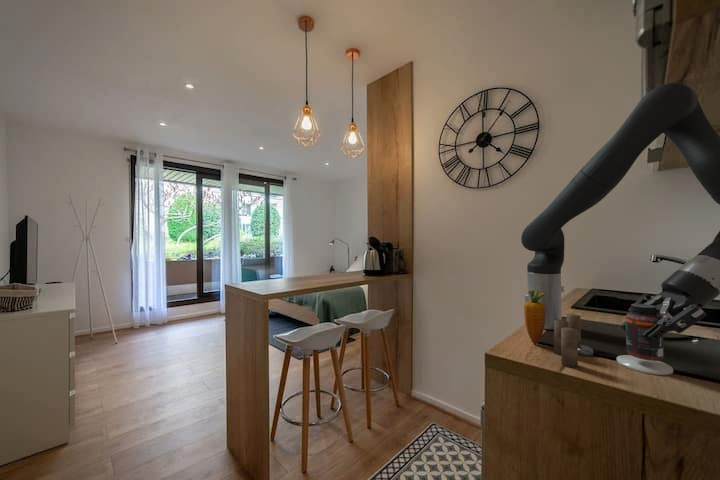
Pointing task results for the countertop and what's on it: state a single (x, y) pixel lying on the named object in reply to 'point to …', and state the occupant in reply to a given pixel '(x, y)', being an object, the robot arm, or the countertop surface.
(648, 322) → the supplement bottle
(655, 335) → the robot arm
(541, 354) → the countertop surface
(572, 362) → the post
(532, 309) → the carrot
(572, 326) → the post
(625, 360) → the coaster
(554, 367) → the countertop surface
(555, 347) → the post
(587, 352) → the nut
